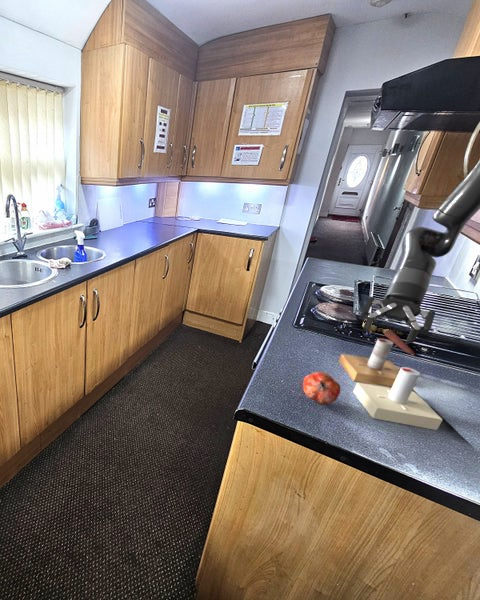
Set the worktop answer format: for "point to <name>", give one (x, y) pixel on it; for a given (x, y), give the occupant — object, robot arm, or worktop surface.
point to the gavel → (393, 338)
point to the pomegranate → (321, 388)
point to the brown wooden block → (369, 371)
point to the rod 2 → (403, 385)
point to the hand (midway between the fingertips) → (386, 336)
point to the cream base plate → (396, 407)
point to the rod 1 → (380, 354)
